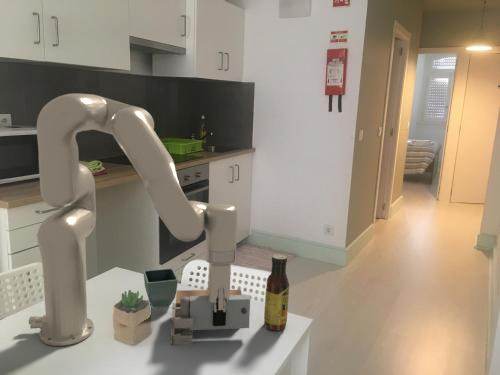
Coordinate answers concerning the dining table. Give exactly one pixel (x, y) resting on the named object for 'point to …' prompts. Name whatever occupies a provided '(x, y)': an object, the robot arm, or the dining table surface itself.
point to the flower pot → (160, 286)
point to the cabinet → (198, 294)
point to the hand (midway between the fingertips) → (218, 321)
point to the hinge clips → (179, 323)
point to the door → (204, 310)
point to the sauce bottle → (277, 295)
